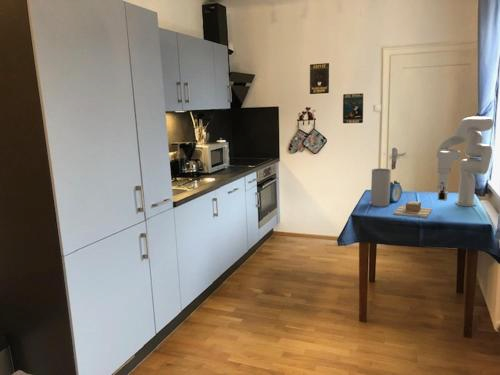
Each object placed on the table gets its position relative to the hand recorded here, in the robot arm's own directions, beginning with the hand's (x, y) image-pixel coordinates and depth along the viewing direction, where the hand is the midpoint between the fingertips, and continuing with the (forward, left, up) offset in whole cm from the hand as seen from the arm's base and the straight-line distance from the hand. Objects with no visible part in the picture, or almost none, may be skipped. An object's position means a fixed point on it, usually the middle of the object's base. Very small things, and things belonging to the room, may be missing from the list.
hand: (442, 197), depth 262 cm
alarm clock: (-17, -34, -10) cm, 40 cm away
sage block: (0, 0, -1) cm, 1 cm away
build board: (+6, -16, -10) cm, 20 cm away
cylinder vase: (-4, -40, -10) cm, 42 cm away
